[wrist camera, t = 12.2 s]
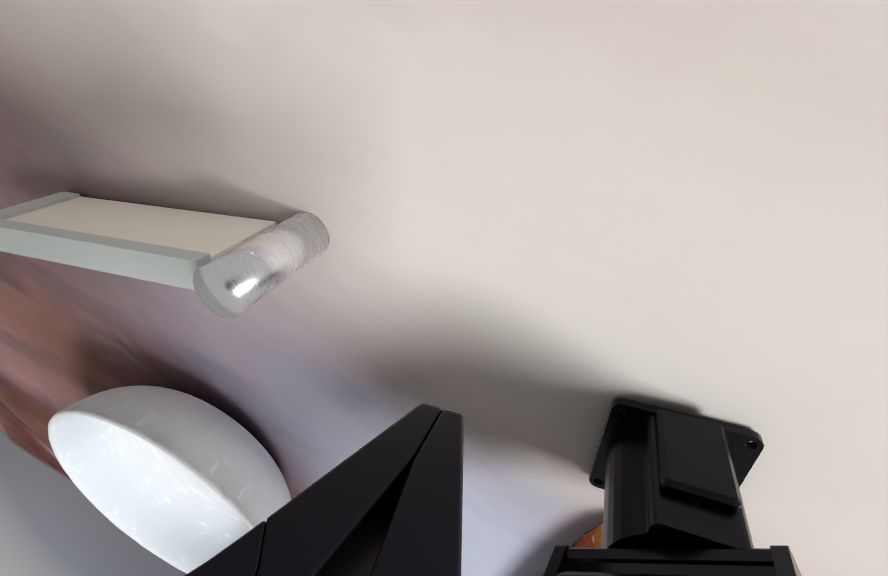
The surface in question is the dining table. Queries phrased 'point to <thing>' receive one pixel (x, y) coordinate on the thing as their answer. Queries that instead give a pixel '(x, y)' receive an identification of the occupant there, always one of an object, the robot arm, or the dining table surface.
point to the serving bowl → (168, 470)
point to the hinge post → (260, 264)
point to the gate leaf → (123, 236)
